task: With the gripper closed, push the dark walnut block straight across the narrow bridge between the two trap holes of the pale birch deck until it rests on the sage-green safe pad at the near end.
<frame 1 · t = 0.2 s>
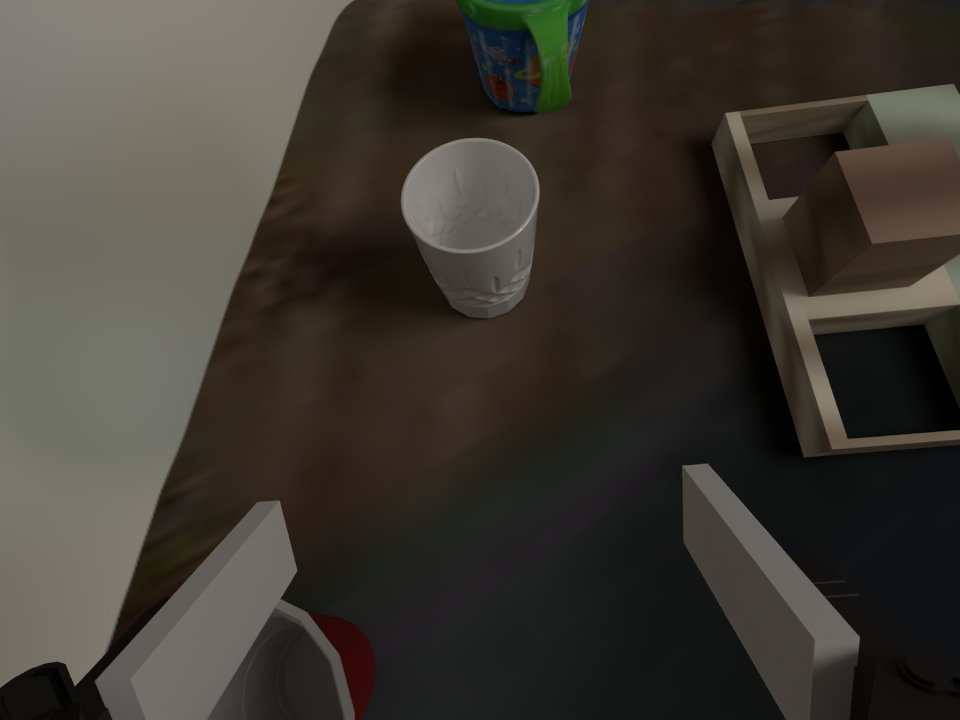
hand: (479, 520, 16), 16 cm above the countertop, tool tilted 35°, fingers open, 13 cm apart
snack cup: (525, 86, 43), on the countertop
plastic cup: (332, 666, 29), on the countertop
white cup: (485, 280, 37), on the countertop
walnut block: (843, 250, 31), point 3 cm above the countertop, touching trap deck
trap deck: (869, 268, 34), on the countertop
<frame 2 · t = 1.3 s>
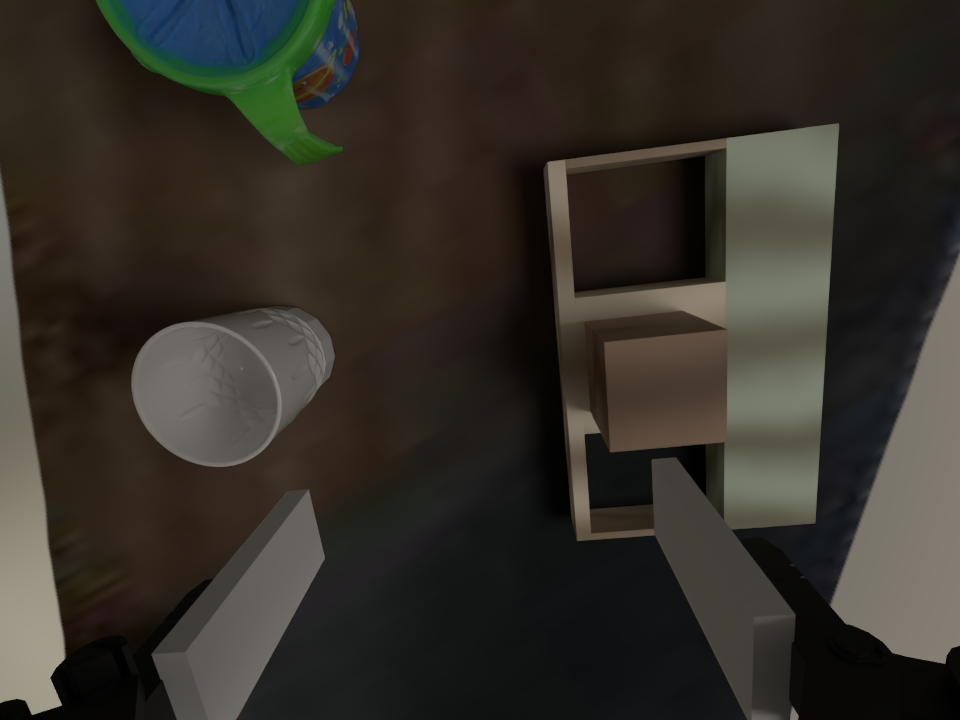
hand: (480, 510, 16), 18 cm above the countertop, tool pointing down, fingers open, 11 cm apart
snack cup: (302, 44, 30), on the countertop
white cup: (290, 351, 35), on the countertop
walnut block: (635, 363, 30), point 3 cm above the countertop, touching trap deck
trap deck: (675, 346, 33), on the countertop
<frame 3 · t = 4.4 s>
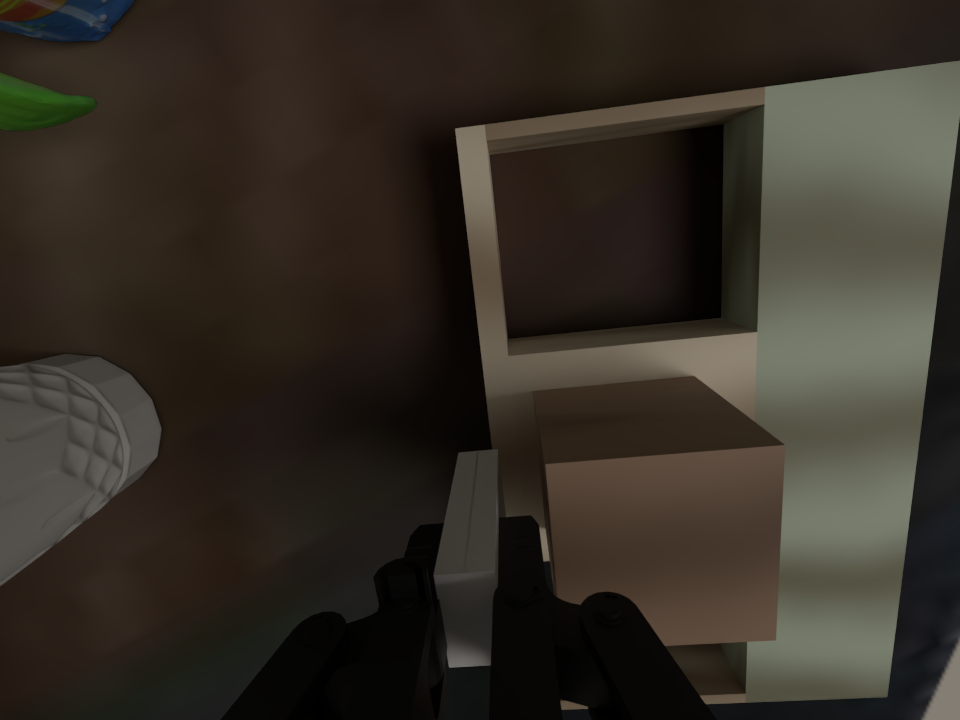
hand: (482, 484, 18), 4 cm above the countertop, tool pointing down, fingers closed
white cup: (98, 419, 23), on the countertop
walnut block: (616, 456, 19), point 3 cm above the countertop, touching gripper
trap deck: (673, 421, 22), on the countertop
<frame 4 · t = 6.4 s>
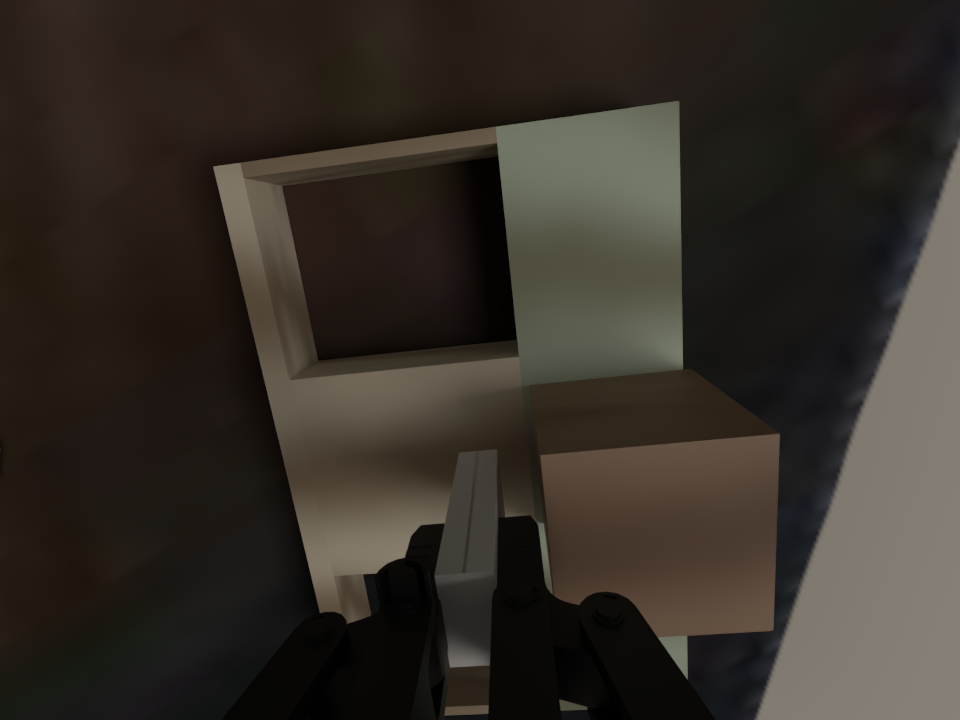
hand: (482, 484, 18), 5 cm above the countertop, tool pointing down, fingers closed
walnut block: (613, 450, 19), point 3 cm above the countertop, touching gripper, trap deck
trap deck: (483, 438, 22), on the countertop
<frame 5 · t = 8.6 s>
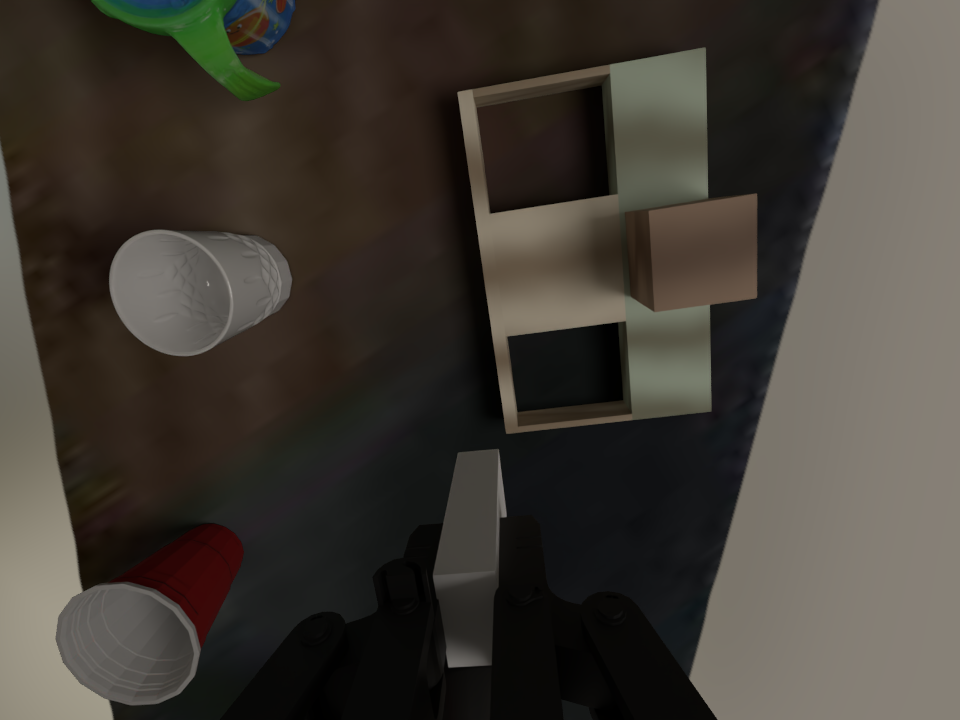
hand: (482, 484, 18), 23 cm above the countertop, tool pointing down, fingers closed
plastic cup: (217, 544, 48), on the countertop
white cup: (253, 276, 40), on the countertop
walnut block: (670, 248, 34), point 3 cm above the countertop, touching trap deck
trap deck: (587, 260, 38), on the countertop
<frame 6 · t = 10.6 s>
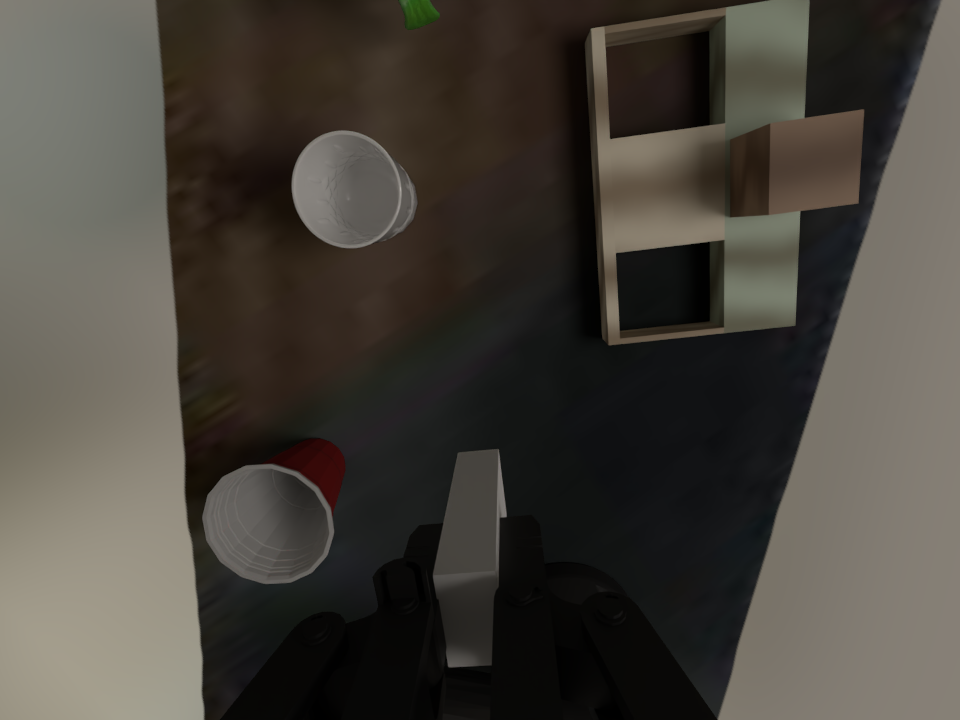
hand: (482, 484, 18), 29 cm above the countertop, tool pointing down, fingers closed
plastic cup: (320, 460, 51), on the countertop
white cup: (381, 200, 44), on the countertop
walnut block: (768, 173, 39), point 3 cm above the countertop, touching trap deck
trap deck: (686, 189, 42), on the countertop
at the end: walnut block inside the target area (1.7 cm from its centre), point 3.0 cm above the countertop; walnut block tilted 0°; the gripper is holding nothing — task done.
